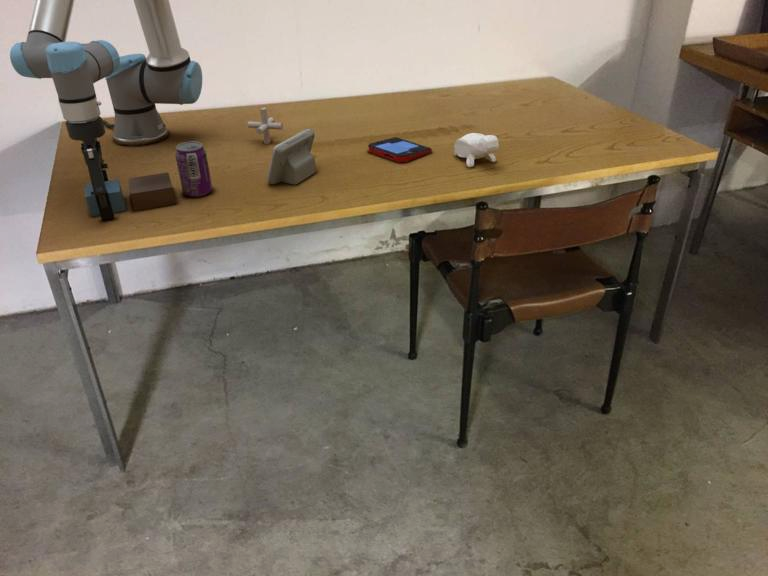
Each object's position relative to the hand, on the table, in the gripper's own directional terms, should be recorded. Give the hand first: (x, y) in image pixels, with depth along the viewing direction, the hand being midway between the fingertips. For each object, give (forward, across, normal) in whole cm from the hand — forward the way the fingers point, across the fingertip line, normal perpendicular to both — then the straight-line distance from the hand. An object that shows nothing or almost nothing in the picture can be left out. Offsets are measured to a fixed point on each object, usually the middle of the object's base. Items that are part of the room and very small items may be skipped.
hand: (107, 207), depth 150 cm
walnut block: (0, 0, -11) cm, 11 cm away
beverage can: (0, 0, -21) cm, 21 cm away
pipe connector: (0, +28, -45) cm, 53 cm away
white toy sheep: (0, -10, -94) cm, 94 cm away
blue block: (0, 0, 0) cm, 0 cm away
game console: (0, +5, -77) cm, 77 cm away
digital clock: (0, +1, -45) cm, 45 cm away
